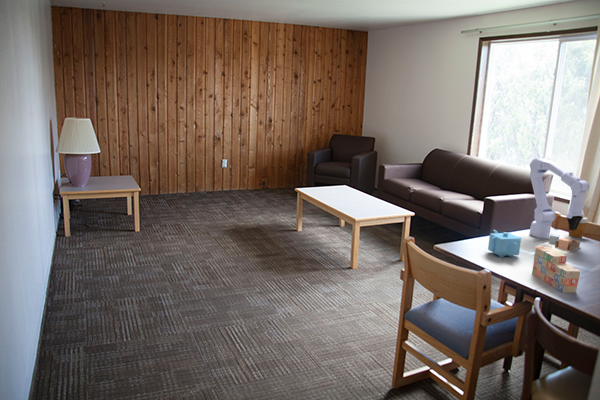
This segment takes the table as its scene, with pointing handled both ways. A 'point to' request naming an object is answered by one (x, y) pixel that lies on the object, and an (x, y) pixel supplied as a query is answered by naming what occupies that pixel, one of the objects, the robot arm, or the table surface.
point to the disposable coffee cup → (579, 229)
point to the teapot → (504, 244)
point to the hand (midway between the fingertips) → (572, 229)
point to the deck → (555, 248)
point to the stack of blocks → (555, 269)
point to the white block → (553, 238)
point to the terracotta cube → (564, 243)
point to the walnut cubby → (572, 246)
